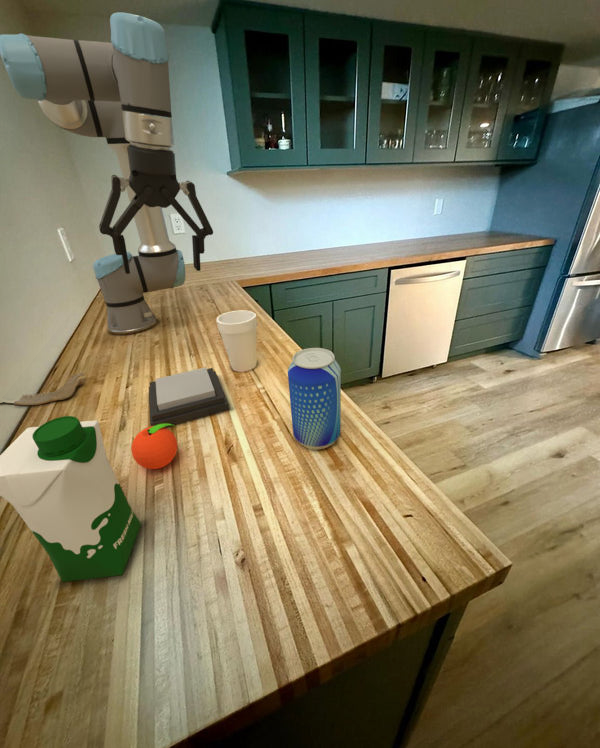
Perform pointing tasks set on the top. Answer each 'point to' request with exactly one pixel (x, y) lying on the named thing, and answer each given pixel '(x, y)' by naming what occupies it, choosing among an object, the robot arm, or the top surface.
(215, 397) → the scale
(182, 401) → the scale platform
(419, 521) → the top surface
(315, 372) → the beer can
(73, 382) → the jawbone
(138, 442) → the clementine
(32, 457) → the milk carton
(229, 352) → the foam cup
